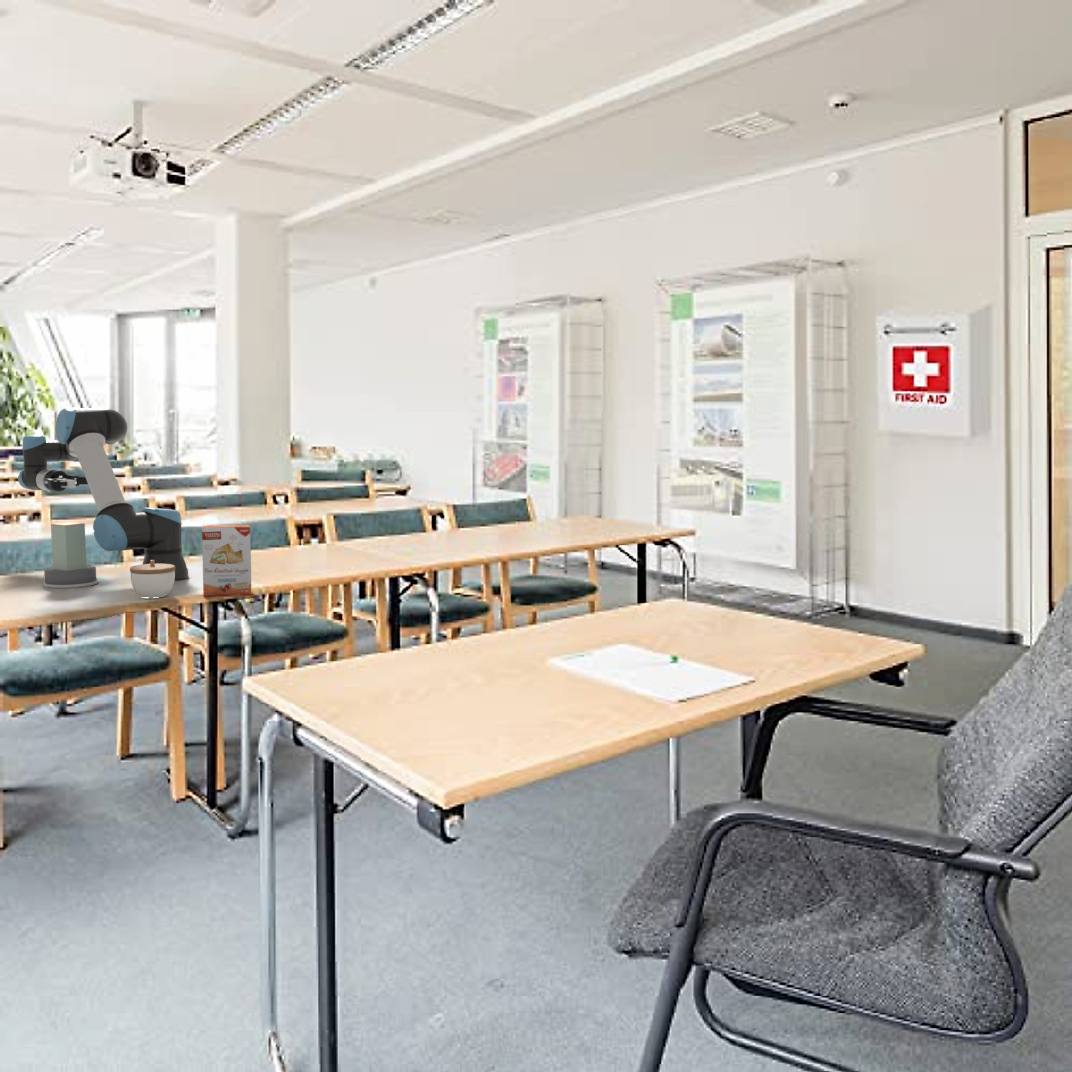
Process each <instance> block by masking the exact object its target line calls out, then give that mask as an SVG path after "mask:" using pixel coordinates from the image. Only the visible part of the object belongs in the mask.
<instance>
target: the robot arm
mask: <svg viewBox="0 0 1072 1072" xmlns="http://www.w3.org/2000/svg"><path fill="white" fill-rule="evenodd" d="M55 421H56V422H55V426H54V427H55V436H56V437H55V438H56V440H47V438H46V436H45V435H25V436H23V438H22V448H21V449H22V454H23V455H22V457H23V458H22V460H23V469H22V470H20V472H19V474H18V477H17V480H18V484H19V485H20V486H21V487H22V488H23V489H26V490H31V491H46V492H47V493H50V492H63V491H65V490H66V489H76V487H78V486H81V485H82V486H84V485H88V488H89V490H90V492H91V496H92V498H93V500H94V502H95V506H96V507H97V510H98V511H97V513H96V515H95V519H94V520H93V523H92V529H93V530H94V531H93V535H94V538H95V539H94V540H96V543H97V544H98V546H99V547H100V548H101V549H103V550H105V551H107V552H123V551H131V550H140V549H144V556H143V557H144V558H143V560H142V564H150V560H155V564H172V565H174V566H175V580H174V581H178V580H179V579H180V580H184V579H183V578H185V579H188V578H189V577H190V576H189V569H188V567H187V564H186V561H185V559H184V556H183V539H182V538H183V537H182V535H183V534H182V524H183V523H182V517H181V513H180V512H179V510H175V509H171V508H170V509H169V508H158V507H143V509H142V512H135V509H134V507H133V505H132V504H131V503H129V502H127V501H126V500H125V497H124V494H123V492H122V490H121V487H120V484H119V482H118V480H117V477H116V475H115V472H114V470H113V468H112V465H111V462H110V460H109V458H108V454H107V453H106V450H105V447H104V446H106V445H113V444H116V443H118V442H120V441H121V440H123V439H124V438H125V437H126V435H127V432H128V423H127V421H126V418H125V417H124V416H123V415H122V414H121V413H120V412H119V411H116V410H115V409H112V408H108V407H98V408H97V407H90V408H89V407H83V408H82V407H70V408H69V407H65V408H63V409H61V410H60V411H59V413H58V414H57V417H56V420H55ZM48 462H79V464H80V466H81V469H82V472H83V475H84V476H79V475H68V474H67V473H66V472H65V471H63V470H60V469H59V470H58V469H48V467H47V466H48Z"/></svg>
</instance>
